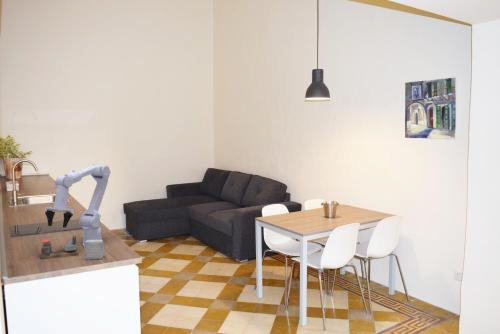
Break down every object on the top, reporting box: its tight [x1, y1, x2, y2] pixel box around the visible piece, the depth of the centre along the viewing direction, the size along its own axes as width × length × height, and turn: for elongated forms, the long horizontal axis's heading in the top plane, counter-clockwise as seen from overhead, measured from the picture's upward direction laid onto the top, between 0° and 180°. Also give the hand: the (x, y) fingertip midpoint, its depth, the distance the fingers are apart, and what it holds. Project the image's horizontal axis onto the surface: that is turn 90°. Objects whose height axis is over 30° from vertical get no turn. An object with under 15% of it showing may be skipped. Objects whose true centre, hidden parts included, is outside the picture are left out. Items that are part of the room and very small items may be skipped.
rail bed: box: [39, 241, 80, 260], centre depth 204 cm, size 17×10×5 cm, turn 111°
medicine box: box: [83, 239, 105, 260], centre depth 198 cm, size 8×4×9 cm, turn 92°
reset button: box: [41, 238, 51, 244], centre depth 201 cm, size 4×4×1 cm
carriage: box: [64, 235, 78, 251], centre depth 206 cm, size 5×7×6 cm
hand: (57, 226), depth 202 cm, fingers open, 7 cm apart
